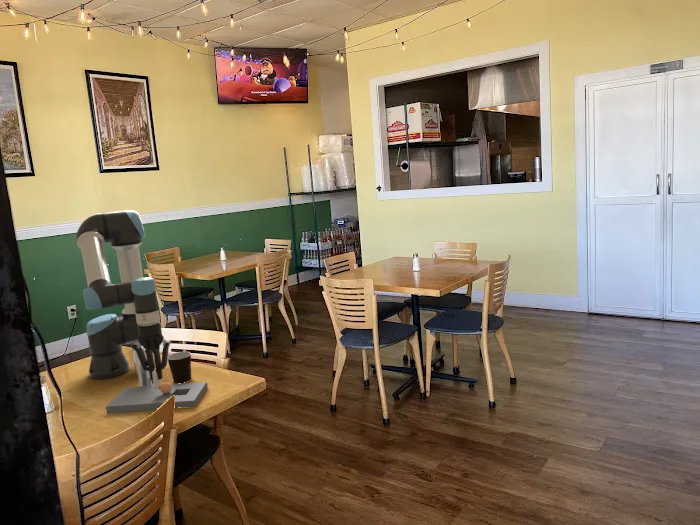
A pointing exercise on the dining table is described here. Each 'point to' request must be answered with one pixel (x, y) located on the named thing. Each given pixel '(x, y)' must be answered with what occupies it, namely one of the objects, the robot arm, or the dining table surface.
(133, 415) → the dining table surface
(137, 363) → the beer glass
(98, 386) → the dining table surface
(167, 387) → the ball
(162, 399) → the board
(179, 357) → the coffee mug
